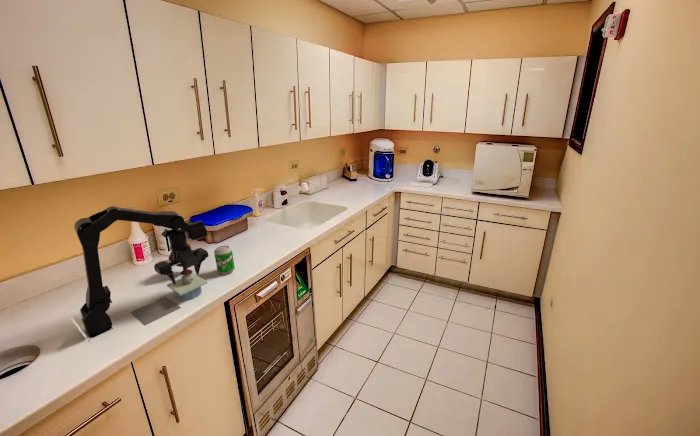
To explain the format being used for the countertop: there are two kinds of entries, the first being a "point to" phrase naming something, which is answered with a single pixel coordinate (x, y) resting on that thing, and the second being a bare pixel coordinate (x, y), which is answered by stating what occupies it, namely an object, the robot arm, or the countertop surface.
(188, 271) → the ice cream bowl
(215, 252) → the soda can
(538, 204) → the countertop surface
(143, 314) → the rubber mat
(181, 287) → the cover
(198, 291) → the bowl
